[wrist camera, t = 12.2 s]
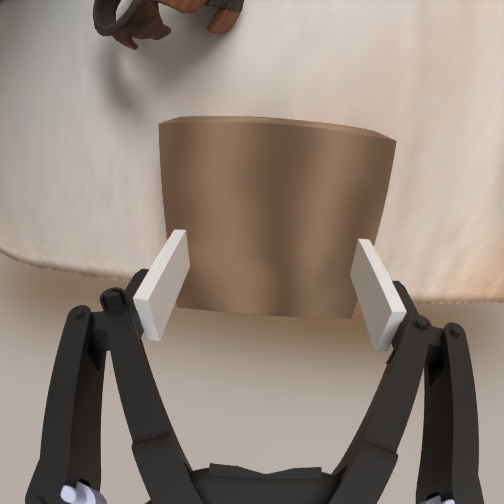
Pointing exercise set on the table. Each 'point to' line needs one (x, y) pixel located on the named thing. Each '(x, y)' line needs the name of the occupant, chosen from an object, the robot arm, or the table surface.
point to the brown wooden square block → (272, 210)
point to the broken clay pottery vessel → (157, 18)
